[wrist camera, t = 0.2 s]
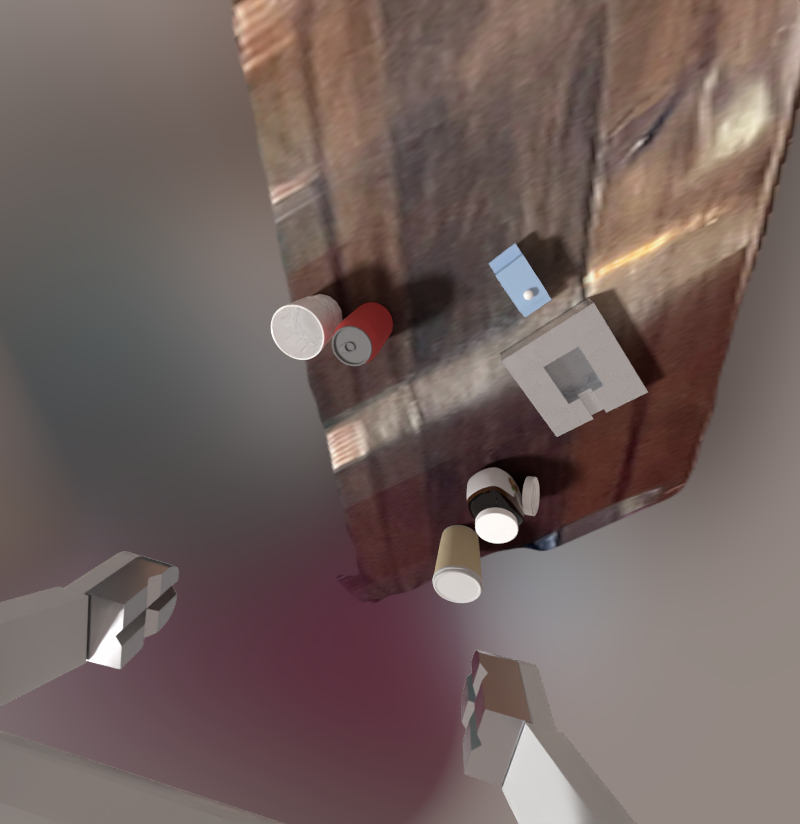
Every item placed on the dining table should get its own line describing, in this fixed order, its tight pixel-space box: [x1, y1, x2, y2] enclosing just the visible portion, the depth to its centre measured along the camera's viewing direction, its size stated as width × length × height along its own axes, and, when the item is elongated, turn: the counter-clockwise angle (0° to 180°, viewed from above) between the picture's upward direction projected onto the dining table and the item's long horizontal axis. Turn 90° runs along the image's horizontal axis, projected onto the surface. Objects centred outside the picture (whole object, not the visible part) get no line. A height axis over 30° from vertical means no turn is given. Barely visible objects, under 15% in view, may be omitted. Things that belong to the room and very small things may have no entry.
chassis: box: [500, 298, 648, 437], centre depth 55 cm, size 14×16×3 cm
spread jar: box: [467, 467, 540, 543], centre depth 64 cm, size 12×11×12 cm
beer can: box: [332, 302, 393, 366], centre depth 54 cm, size 7×7×12 cm
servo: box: [488, 243, 551, 317], centre depth 50 cm, size 4×9×6 cm, turn 40°
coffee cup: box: [433, 525, 483, 603], centre depth 73 cm, size 9×9×12 cm
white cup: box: [271, 294, 343, 360], centre depth 56 cm, size 8×8×10 cm
